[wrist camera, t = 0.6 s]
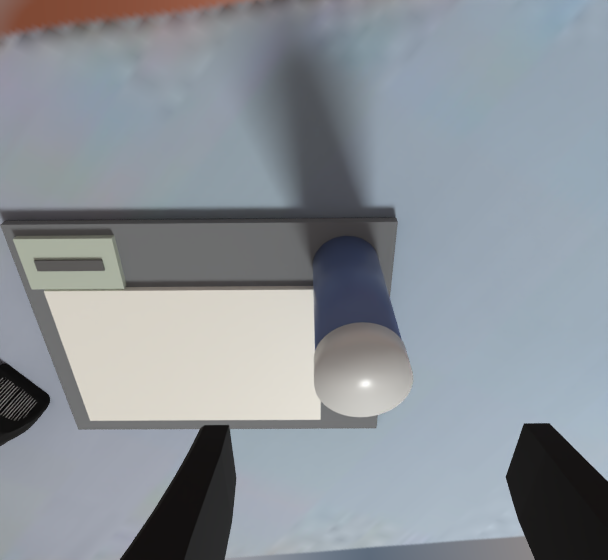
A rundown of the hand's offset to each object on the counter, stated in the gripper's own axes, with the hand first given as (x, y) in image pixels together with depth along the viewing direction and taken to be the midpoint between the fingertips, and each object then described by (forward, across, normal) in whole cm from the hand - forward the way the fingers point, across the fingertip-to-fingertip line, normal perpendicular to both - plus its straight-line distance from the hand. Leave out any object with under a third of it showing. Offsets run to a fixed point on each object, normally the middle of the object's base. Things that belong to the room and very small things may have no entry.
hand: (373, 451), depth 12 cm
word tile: (+10, +12, 0) cm, 15 cm away
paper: (+10, +7, +5) cm, 13 cm away
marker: (+9, 0, 0) cm, 9 cm away
